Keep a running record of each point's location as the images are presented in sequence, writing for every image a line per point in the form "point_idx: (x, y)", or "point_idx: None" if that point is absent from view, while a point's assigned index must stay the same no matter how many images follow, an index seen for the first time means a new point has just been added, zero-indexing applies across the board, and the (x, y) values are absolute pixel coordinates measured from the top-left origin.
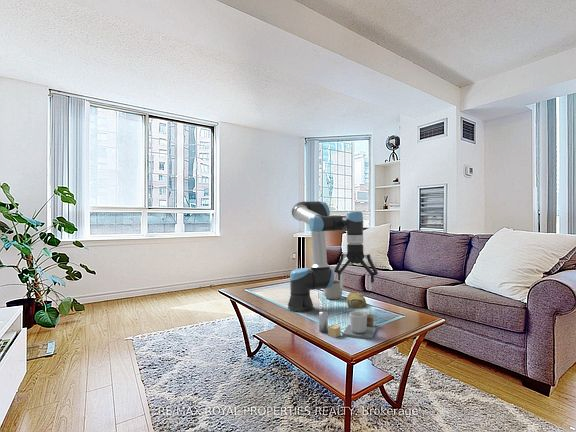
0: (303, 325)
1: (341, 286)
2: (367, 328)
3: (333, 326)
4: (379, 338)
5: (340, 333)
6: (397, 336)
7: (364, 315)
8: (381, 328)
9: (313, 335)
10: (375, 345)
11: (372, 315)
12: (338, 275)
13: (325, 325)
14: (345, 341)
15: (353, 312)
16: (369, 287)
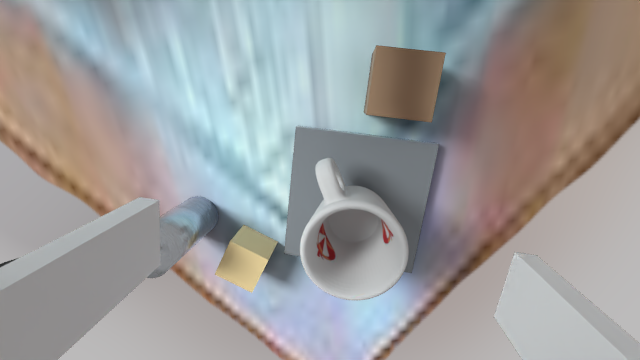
0: (91, 158)
1: (145, 272)
2: (394, 165)
3: (237, 265)
4: (442, 247)
5: (275, 246)
6: (529, 209)
7: (390, 228)
8: (467, 114)
9: (174, 264)
10: (420, 315)
11: (438, 72)
12: None
13: (197, 242)
14: (305, 299)
15: (321, 219)
16: (514, 343)
